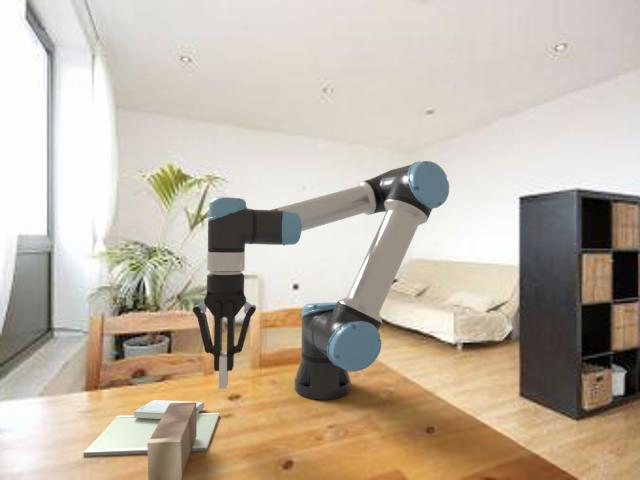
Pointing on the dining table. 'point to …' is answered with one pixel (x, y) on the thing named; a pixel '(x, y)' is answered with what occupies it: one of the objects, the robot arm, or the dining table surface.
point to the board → (144, 435)
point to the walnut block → (172, 442)
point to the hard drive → (160, 409)
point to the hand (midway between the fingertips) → (223, 385)
